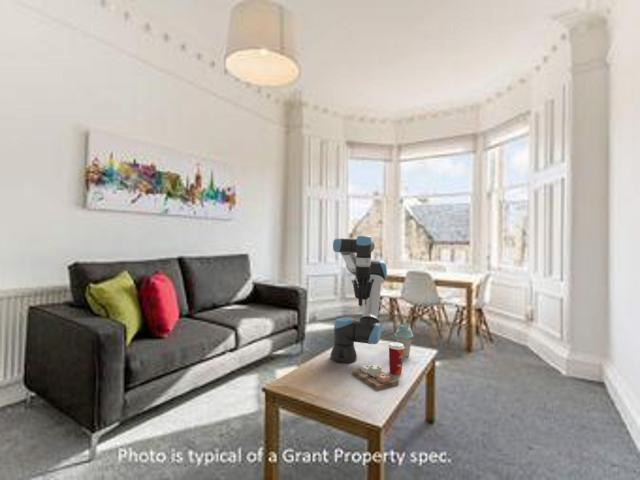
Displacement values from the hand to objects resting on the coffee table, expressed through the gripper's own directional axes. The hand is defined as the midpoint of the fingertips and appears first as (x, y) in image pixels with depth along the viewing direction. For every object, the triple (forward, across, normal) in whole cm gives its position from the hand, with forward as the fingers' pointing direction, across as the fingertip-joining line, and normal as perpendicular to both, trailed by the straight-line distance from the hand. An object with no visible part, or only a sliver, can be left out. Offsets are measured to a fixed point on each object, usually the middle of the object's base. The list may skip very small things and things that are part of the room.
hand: (362, 311), depth 179 cm
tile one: (+32, +3, -2) cm, 32 cm away
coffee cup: (+33, +18, -6) cm, 38 cm away
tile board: (+32, +3, -8) cm, 34 cm away
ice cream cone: (+33, +41, +12) cm, 54 cm away
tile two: (+30, +3, -8) cm, 31 cm away
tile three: (+32, +3, -14) cm, 35 cm away
